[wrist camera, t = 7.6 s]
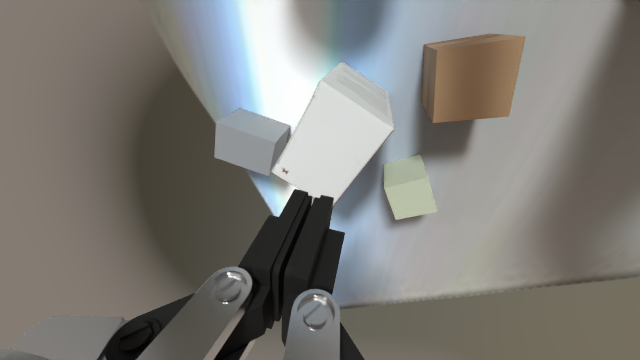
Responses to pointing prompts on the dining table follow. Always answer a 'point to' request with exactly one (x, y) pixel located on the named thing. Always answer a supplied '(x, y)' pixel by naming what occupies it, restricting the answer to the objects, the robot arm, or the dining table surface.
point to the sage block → (408, 188)
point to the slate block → (250, 140)
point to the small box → (336, 134)
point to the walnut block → (470, 77)
